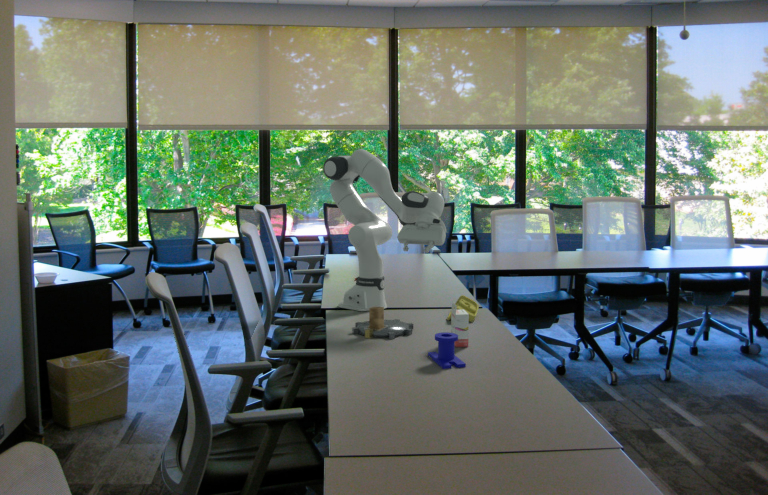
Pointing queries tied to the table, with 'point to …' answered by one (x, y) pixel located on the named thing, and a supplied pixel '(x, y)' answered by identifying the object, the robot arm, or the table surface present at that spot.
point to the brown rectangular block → (376, 317)
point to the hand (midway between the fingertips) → (415, 251)
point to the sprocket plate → (383, 329)
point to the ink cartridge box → (460, 326)
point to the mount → (446, 351)
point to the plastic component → (466, 307)
